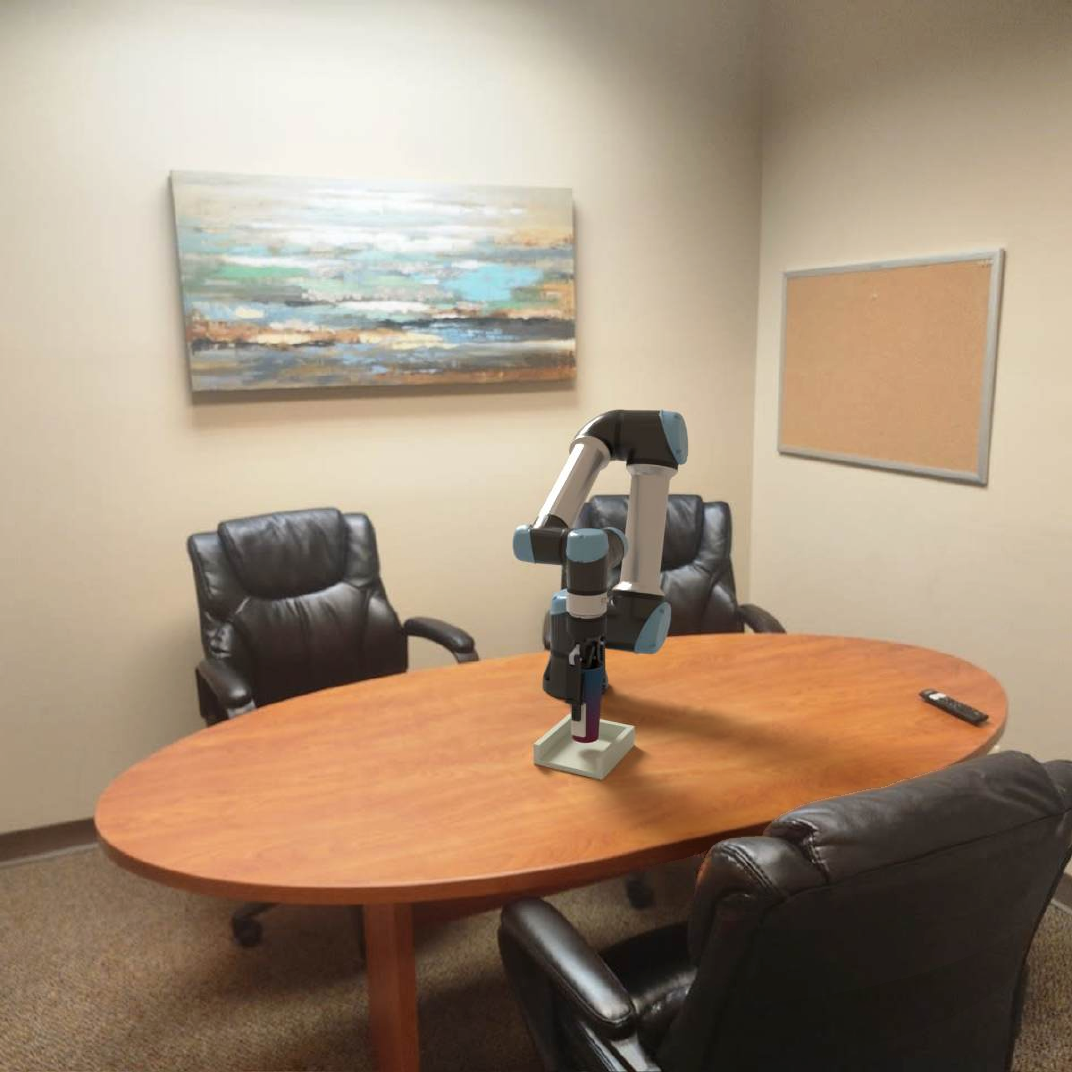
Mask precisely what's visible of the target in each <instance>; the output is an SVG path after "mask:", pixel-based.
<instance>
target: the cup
mask: <svg viewBox="0 0 1072 1072" xmlns="http://www.w3.org/2000/svg"><path fill="white" fill-rule="evenodd" d="M581 663H582V664H585V663H583V662H581ZM584 672H585V696H584V703H586V736H585V737H580V736H575V735H572V738H573V740H575V741H577V742H580V743H592V742H595V741H596V740H598V736H599V723H600V719H601V708H602V695H603V694H602V685H603V673H604V663H603V661H601V660H599V661H598V668H597V669H593V670H581V674H583V673H584ZM569 706H570V708H571V704H569Z"/></svg>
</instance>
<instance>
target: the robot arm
mask: <svg viewBox="0 0 1072 1072" xmlns="http://www.w3.org/2000/svg"><path fill="white" fill-rule="evenodd" d="M685 421H686V420H685V418H684V417H683V415H682V414H681V413H679V412H677V411H670V410H669V411H668V410H663V409H660V410H655V409H654V410H650V409H648V410H646V409H645V410H644V409H637V410H636V409H634V410H633V409H614V410H613V409H612V410H609V411H605V412H603V413H600V415H598V416H596V417H594V418H592V419H591V420H589V421H588V422H587V423H586V424H585V425H583V427H581V428H580V429H579V431H578V432H577V433H576V435H575V436H574V437H573V439H572V441H571V443H570V445H569V448H568V452H569V453H568V454H569V456H568V458H567V460H566V462H565V463H564V466H563V468H562V470H561V472H560V473H559V475H558V477H557V479H556V481H555V482H554V485H553V486H552V489H551V490H550V493H549V494H548V496H547V498H546V500H545V502H544V504H543V506H542V507H541V509H540V511H539V513H538V515H537V517H536V518H535V521H534V522H533V524H530V523H528V524H520V525H518V526H517V528H516V529H515V530H514V533H513V537H512V551H513V554H514V557H515V558H516V559H517V560H518V561H520V562H525V563H529V564H530V563H531V564H534V565H535V564H539V565H550V566H551V565H552V566H563V567H564V566H566V588H563V589H561V590H559V591H557V592H555V593H554V594H552V597H551V598H550V610H549V622H550V623H549V633H550V634H549V642H550V643H549V646H550V647H549V651H550V652H549V653H550V655H549V658H548V661H547V663H546V666H545V668H544V672H543V676H542V689H543V691H544V692H546V693H547V694H548V695H550V696H554V697H557V698H559V699H564V702H565V704H567V705H570V704H571V707H570V713H571V735H575V736H580V737H585V736H586V703H584V696H585V672H584V673H583V674H581V670H593V669H597V668H598V661H599V660H601V661H603V663H604V673H603V685H602V695H604V694H605V693H607V692H608V690H609V677H608V673H607V669H606V650H611V651H616V652H617V651H619V652H625V653H632V654H635V655H639V654H643V655H655V654H656V653H658V652H659V651H660V650H661V649H662V648H663V646H664V644H665V641H666V639H667V637H668V633H669V628H670V625H671V618H672V615H671V614H672V607H671V605H670V603H669V602H666V601H665V597H666V596H665V593H664V591H663V590H662V589H661V588H660V576H661V567H662V559H663V557H662V556H663V549H664V537H665V530H666V520H667V514H668V513H667V511H668V503H669V502H668V501H669V494H670V493H669V492H670V482H671V480H672V479H673V477H675V476H676V475H677V474H678V472H679V465H680V466H682V465H685V464H686V463H687V461H688V456H689V439H688V438H689V437H688V429H687V426H686V422H685ZM615 461H617V462H626V463H625V469H626V470H627V471H628V473H629V475H630V476H631V479H630V489H629V498H628V506H627V515H626V516H627V517H626V523H625V524H626V525H625V533H623V532H622V531H621V530H620V529H618V528H616V527H613V526H608V527H603V528H600V529H599V528H591V527H590V528H573V527H574V525H575V524H576V522H577V520H578V518H579V517H578V516H579V515H580V513H581V511H582V509H583V506H584V505H585V503H586V500H588V497H589V495H590V492H591V491H592V488H593V486H594V484H595V482H596V480H597V478H598V476H599V475H600V472H601V471H603V470H605V469H606V468H607V467H608V465H609V464H610V462H615ZM620 564H621V569H620V578H619V579H620V580H619V583H617V584H616V585H615V586H613V587H612V589H611V596H608V572H610V571H611V570H612V569H613V568H615V567H616V566H617V567H618V566H619V565H620ZM581 662H583V663H585V664H582V663H581Z"/></svg>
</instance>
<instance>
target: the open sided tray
mask: <svg viewBox="0 0 1072 1072" xmlns="http://www.w3.org/2000/svg"><path fill="white" fill-rule="evenodd" d="M635 729H636V727H635V726H634V725H631V724H625V723H620V722H616V721H611V720H606V719H601V718H600V723H599V736H598V740H596V741H595V742H592V743H580V742H577V741H575V740H573V738H572V735H571V712H570V713H568V714H567V715H566V716H565V717H563V718H562V719H561V720H560V721H559V722H557V723H556V724H555V725H554V726H553V727H552V728H550V730H548V731H547V732H546V733H545V734H544V735H543V736H541V737H540V738H538V740H536V742H534V743H533V764H534V765H537V766H543V767H546V768H549V769H550V768H551V769H554V770H559V771H561V772H562V771H564V772H567V773H571V774H575V775H579V776H584V777H588V778H592V779H597V780H600V781H603V780H604V779H605V777H606V776H607V775H609V773H610V772H611V771H612V770H614V768H615V767H616V766H617V765H618V763H620V761H621V760H622V759H623V758H624V757H625V756H626V755H627V754H628V752H630V750H631V749H633V747H635V737H636V736H635V733H636V732H635V731H636V730H635Z"/></svg>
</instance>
